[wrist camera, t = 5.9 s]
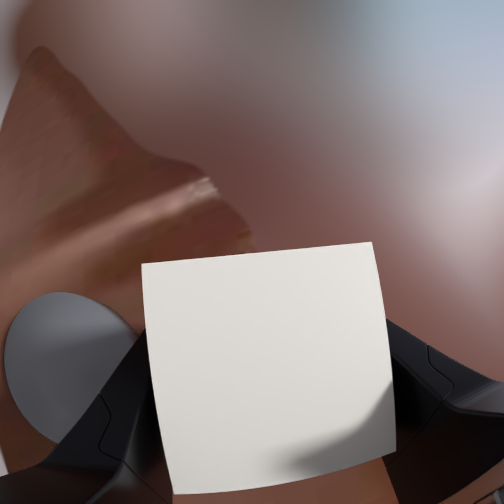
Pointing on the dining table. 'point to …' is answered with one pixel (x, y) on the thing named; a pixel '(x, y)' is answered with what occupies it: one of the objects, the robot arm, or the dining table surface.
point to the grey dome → (62, 358)
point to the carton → (269, 366)
